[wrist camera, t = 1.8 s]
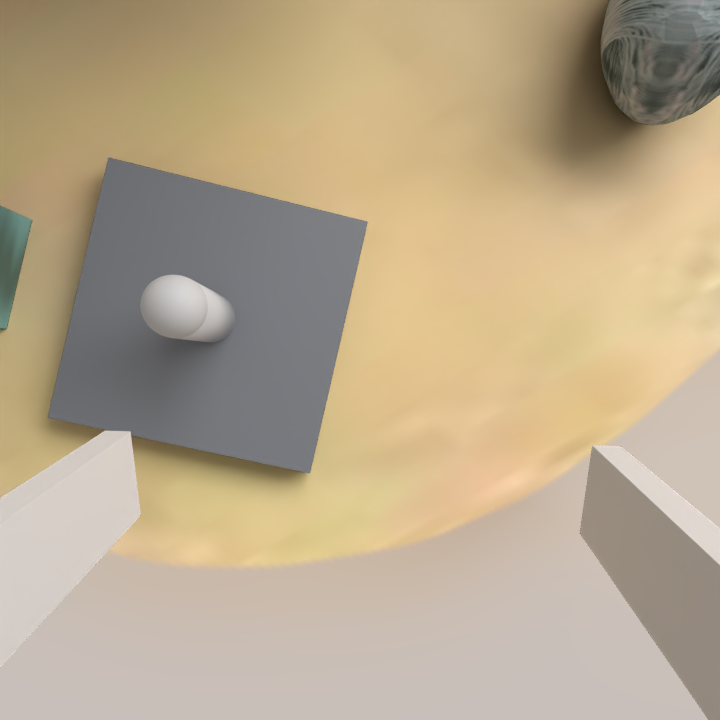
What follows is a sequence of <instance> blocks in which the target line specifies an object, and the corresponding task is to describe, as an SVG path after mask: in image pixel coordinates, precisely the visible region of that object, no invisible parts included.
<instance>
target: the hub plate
mask: <svg viewBox="0 0 720 720" xmlns="http://www.w3.org/2000/svg"><path fill="white" fill-rule="evenodd" d="M366 227H367V222H366V221H362V220H358V219H354V218H350V217H346V216H342V215H338V214H334V213H330V212H326V211H322V210H318V209H314V208H310V207H306V206H302V205H298V204H294V203H290V202H286V201H282V200H278V199H274V198H270V197H266V196H262V195H258V194H254V193H250V192H245V191H241V190H237V189H233V188H229V187H225V186H221V185H217V184H213V183H209V182H205V181H201V180H197V179H193V178H189V177H185V176H181V175H177V174H173V173H169V172H165V171H161V170H157V169H153V168H149V167H145V166H141V165H137V164H133V163H129V162H125V161H121V160H117V159H112V158H108V161H107V165H106V170H105V174H104V178H103V182H102V187H101V191H100V195H99V200H98V204H97V208H96V212H95V217H94V221H93V225H92V230H91V234H90V238H89V242H88V247H87V251H86V255H85V260H84V264H83V268H82V272H81V277H80V281H79V285H78V290H77V294H76V298H75V302H74V307H73V311H72V315H71V319H70V324H69V328H68V332H67V337H66V341H65V345H64V349H63V354H62V358H61V362H60V367H59V371H58V375H57V379H56V384H55V388H54V392H53V397H52V401H51V405H50V409H49V414H48V418H51V419H56V420H61V421H66V422H70V423H75V424H80V425H84V426H89V427H94V428H98V429H103V430H108V431H131V436H136V437H141V438H145V439H150V440H155V441H159V442H164V443H169V444H174V445H178V446H183V447H188V448H192V449H197V450H202V451H206V452H211V453H216V454H221V455H225V456H230V457H235V458H239V459H244V460H249V461H253V462H258V463H263V464H268V465H272V466H277V467H282V468H286V469H291V470H296V471H300V472H305V473H310V471H311V466H312V462H313V458H314V453H315V449H316V445H317V440H318V436H319V432H320V427H321V423H322V418H323V414H324V410H325V405H326V401H327V397H328V392H329V388H330V384H331V379H332V375H333V370H334V366H335V362H336V357H337V353H338V349H339V344H340V340H341V336H342V331H343V327H344V323H345V318H346V314H347V309H348V305H349V301H350V296H351V292H352V288H353V283H354V279H355V275H356V270H357V266H358V261H359V257H360V253H361V248H362V244H363V240H364V235H365V231H366Z"/></svg>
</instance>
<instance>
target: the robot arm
mask: <svg viewBox="0 0 720 720" xmlns="http://www.w3.org/2000/svg"><path fill="white" fill-rule="evenodd" d="M140 516H141V513H140V505H139V497H138V488H137V480H136V472H135V464H134V456H133V448H132V439H131V431H104V432H102V433H101V434H99V435H97V436H96V437H94V438H93V439H91V440H90V441H88V442H87V443H85V444H83V445H82V446H80V447H79V448H77V449H76V450H74V451H72V452H71V453H69V454H68V455H66V456H65V457H63V458H62V459H60V460H58V461H57V462H55V463H54V464H52V465H51V466H49V467H48V468H46V469H44V470H43V471H41V472H40V473H38V474H37V475H35V476H33V477H32V478H30V479H29V480H27V481H26V482H24V483H23V484H21V485H19V486H18V487H16V488H15V489H13V490H12V491H10V492H9V493H7V494H5V495H4V496H2V497H1V498H0V667H1V666H2V665H3V664H4V663H5V662H6V661H7V660H8V659H9V657H10V656H11V655H12V654H13V653H14V652H15V651H16V650H17V649H18V648H19V647H20V645H21V644H22V643H23V642H24V641H25V640H26V639H27V638H28V637H29V636H30V635H31V634H32V633H33V631H34V630H35V629H36V628H37V627H38V626H39V625H40V624H41V623H42V622H43V621H44V620H45V619H46V617H47V616H48V615H49V614H50V613H51V612H52V611H53V610H54V609H55V607H57V605H58V604H59V603H60V602H61V601H62V600H63V599H64V598H65V597H66V596H67V595H68V594H69V592H70V591H71V590H72V589H73V588H74V587H75V586H76V585H77V584H78V583H79V582H80V581H81V580H82V579H83V577H84V576H85V575H86V574H87V573H88V572H89V571H90V570H91V569H92V568H93V567H94V565H95V564H96V563H97V562H98V561H99V560H100V559H101V558H102V557H103V556H104V555H105V554H106V553H107V551H108V550H109V549H110V548H111V547H112V546H113V545H114V544H115V543H116V542H117V541H118V540H119V538H120V537H121V536H122V535H123V534H124V533H125V532H126V531H127V530H128V529H129V528H130V527H131V525H132V524H133V523H134V522H135V521H136V520H137V519H138V518H139V517H140ZM580 534H581V536H582V537H583V539H584V540H585V542H586V543H587V544H588V546H589V547H590V549H591V550H592V551H593V553H594V554H595V556H596V557H597V559H598V560H599V562H600V563H601V565H602V566H603V568H604V569H605V570H606V572H607V573H608V575H609V576H610V578H611V579H612V581H613V582H614V584H615V585H616V586H617V588H618V589H619V591H620V592H621V594H622V595H623V597H624V598H625V599H626V601H627V602H628V604H629V605H630V607H631V608H632V610H633V611H634V612H635V614H636V615H637V617H638V618H639V620H640V621H641V623H642V624H643V626H644V627H645V628H646V630H647V631H648V633H649V634H650V636H651V637H652V639H653V640H654V641H655V643H656V644H657V646H658V647H659V649H660V650H661V652H662V653H663V655H664V656H665V658H666V659H667V660H668V662H669V663H670V665H671V666H672V668H673V669H674V670H675V672H676V673H677V675H678V676H679V678H680V679H681V681H682V682H683V683H684V685H685V687H686V688H687V689H688V691H689V692H690V694H691V695H692V697H693V698H694V699H695V701H696V702H697V704H698V705H699V707H700V708H701V709H702V711H703V713H704V714H705V716H706V717H707V718H708V720H720V528H719V527H717V526H716V525H715V524H714V523H713V522H712V521H710V520H709V519H708V518H707V517H706V516H704V515H703V514H702V513H701V512H699V511H698V510H697V509H696V508H695V507H693V506H692V505H691V504H690V503H688V502H687V501H686V500H685V499H684V498H683V497H681V496H680V495H679V494H678V493H677V492H675V491H674V490H673V489H672V488H671V487H669V486H668V485H667V484H666V483H664V482H663V481H662V480H661V479H660V478H658V477H657V476H656V475H655V474H654V473H652V472H651V471H650V470H649V469H648V468H646V467H645V466H644V465H643V464H642V463H640V462H639V461H638V460H637V459H636V458H634V457H633V456H632V455H631V454H629V453H628V452H627V451H626V450H625V449H623V448H622V447H621V446H594V445H592V451H591V458H590V465H589V472H588V479H587V486H586V493H585V500H584V507H583V514H582V521H581V528H580Z"/></svg>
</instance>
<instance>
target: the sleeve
mask: <svg viewBox="0 0 720 720" xmlns="http://www.w3.org/2000/svg"><path fill="white" fill-rule="evenodd" d="M31 222H32V220H31V219H29V218H26V217H24V216H22V215H20V214H18V213H15V212H13V211H11V210H9V209H7V208H4V207H2V206H0V328H3V329H7V325H8V321H9V316H10V312H11V308H12V303H13V299H14V295H15V291H16V286H17V282H18V278H19V274H20V269H21V265H22V261H23V257H24V252H25V248H26V244H27V239H28V235H29V231H30V227H31Z"/></svg>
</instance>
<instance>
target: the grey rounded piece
mask: <svg viewBox="0 0 720 720" xmlns="http://www.w3.org/2000/svg"><path fill="white" fill-rule="evenodd" d="M601 62H602V68H603V73H604V79H605V81H606V83H607V85H608V88H609V91H610V95H611V97H612V99H613V101H614V103H615V104H616V106H617V107H618V108H619V109H620V110H621V111H622V112H623V113H625V114H626V116H628V117H629V118H630V119H632V120H633V121H636V122H638V123H642V124H649V125H660V124H666V123H670V122H673V121H675V120H678V119H680V118H682V117H685V116H688V115H690V114H693V113H694V112H696V111H697V110H699V109H701V108H702V107H704V106H705V105H707V104H708V103H709V102H711V101H712V100H713V99H715V98H716V97H717V96H719V95H720V0H609V3H608V6H607V10H606V13H605V19H604V24H603V29H602V36H601Z"/></svg>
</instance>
